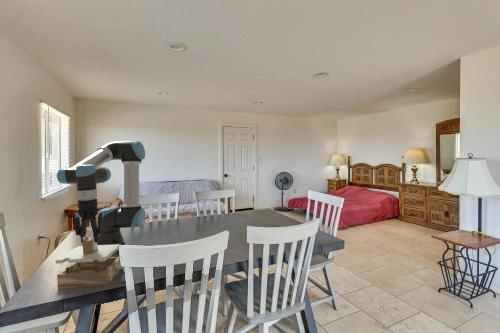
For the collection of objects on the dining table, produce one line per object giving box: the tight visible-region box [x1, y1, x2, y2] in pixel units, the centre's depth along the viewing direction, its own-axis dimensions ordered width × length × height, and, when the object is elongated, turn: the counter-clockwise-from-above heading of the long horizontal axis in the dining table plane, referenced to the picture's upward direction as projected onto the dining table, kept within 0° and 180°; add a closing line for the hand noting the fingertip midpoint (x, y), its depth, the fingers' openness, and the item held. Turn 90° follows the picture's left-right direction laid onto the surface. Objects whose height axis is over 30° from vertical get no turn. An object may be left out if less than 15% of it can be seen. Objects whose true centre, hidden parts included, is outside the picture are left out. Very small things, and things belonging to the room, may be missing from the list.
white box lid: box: [55, 236, 122, 265], centre depth 117 cm, size 16×20×8 cm
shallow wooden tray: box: [56, 256, 123, 289], centre depth 117 cm, size 16×20×8 cm
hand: (90, 249), depth 117 cm, fingers closed on white box lid, 3 cm apart
